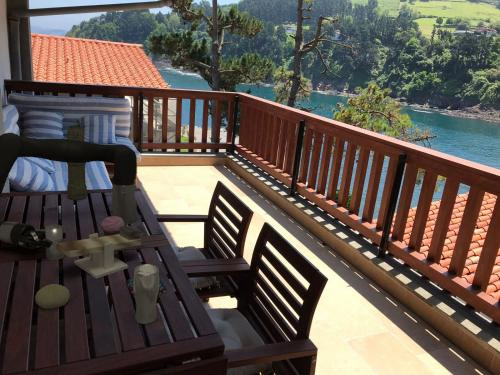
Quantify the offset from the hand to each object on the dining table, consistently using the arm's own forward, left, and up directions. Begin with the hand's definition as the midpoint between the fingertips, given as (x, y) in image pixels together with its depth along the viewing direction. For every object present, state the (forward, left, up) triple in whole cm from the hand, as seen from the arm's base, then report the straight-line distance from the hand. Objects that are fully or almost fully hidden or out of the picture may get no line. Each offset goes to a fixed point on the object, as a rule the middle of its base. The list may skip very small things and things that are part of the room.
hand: (57, 240), depth 156 cm
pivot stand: (-8, +15, -7) cm, 18 cm away
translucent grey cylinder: (+1, -1, -7) cm, 7 cm away
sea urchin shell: (+15, +27, -7) cm, 31 cm away
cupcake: (-22, -1, -7) cm, 23 cm away
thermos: (-37, -57, -7) cm, 69 cm away
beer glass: (0, +51, -7) cm, 51 cm away
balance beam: (-8, +15, +1) cm, 17 cm away
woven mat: (-10, +37, -7) cm, 39 cm away
